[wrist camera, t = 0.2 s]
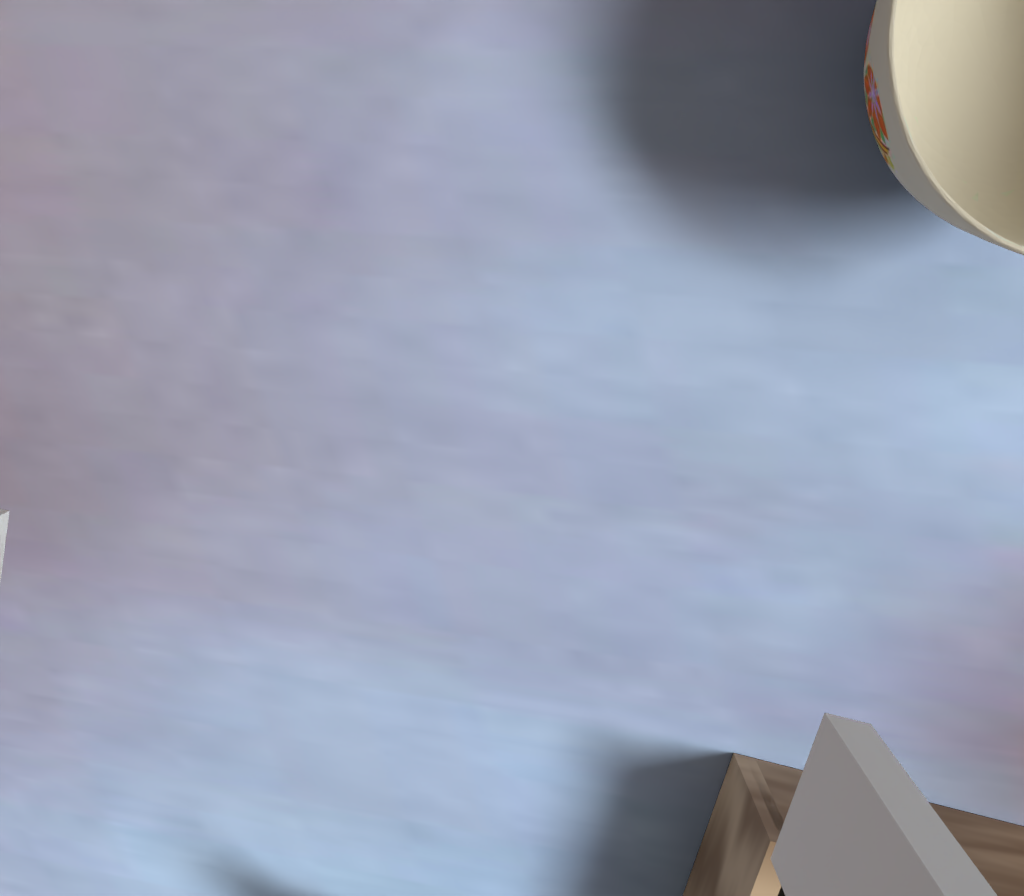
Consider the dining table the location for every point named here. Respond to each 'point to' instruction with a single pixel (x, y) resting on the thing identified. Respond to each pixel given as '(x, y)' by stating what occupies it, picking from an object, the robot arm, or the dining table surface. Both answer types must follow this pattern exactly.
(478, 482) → the dining table surface
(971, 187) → the bowl
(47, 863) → the dining table surface
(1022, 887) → the storage crate
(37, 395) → the dining table surface
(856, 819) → the robot arm
